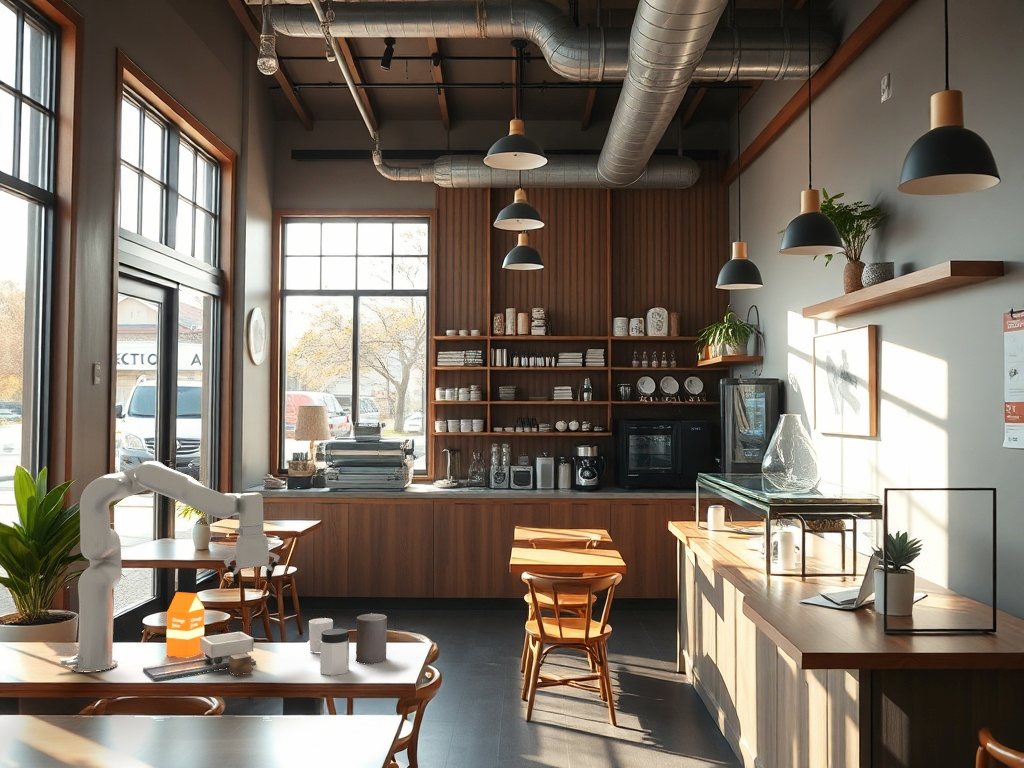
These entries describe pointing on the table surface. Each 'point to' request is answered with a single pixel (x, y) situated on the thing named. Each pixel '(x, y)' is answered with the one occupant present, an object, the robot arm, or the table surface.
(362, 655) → the pillar candle
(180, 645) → the orange juice
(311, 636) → the white cup
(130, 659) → the table surface
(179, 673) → the track
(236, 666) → the walnut block
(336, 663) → the jar
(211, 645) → the cart
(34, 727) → the table surface
